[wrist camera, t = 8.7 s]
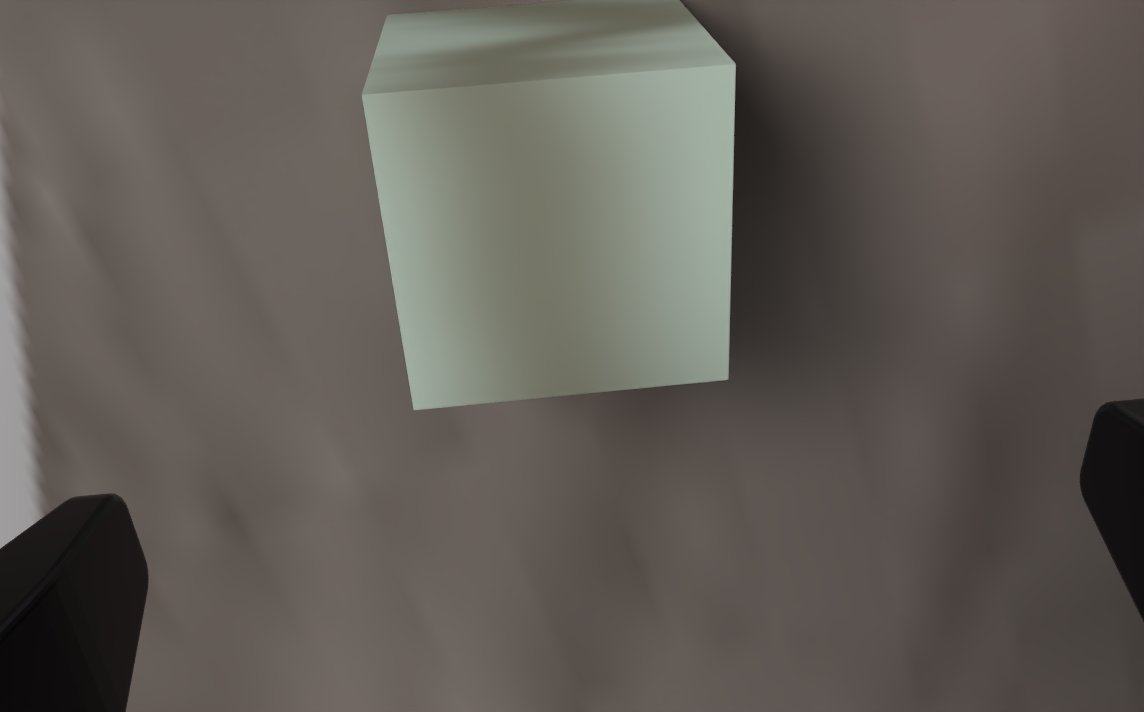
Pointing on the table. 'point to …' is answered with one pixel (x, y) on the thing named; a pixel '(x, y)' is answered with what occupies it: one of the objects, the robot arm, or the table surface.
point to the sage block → (555, 197)
